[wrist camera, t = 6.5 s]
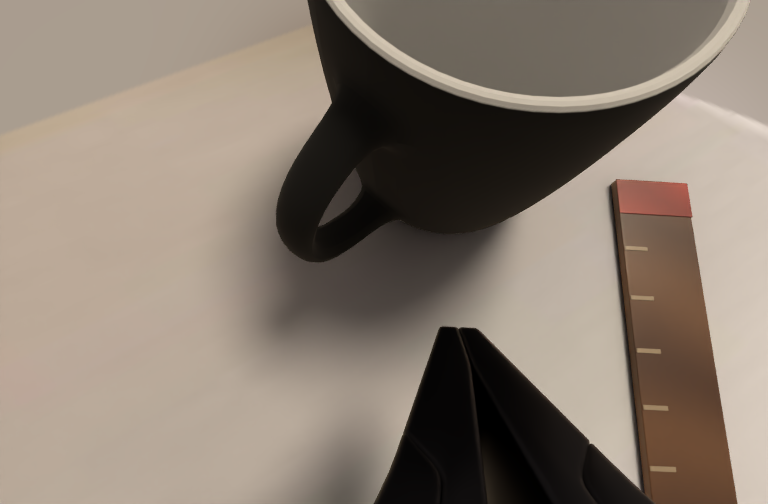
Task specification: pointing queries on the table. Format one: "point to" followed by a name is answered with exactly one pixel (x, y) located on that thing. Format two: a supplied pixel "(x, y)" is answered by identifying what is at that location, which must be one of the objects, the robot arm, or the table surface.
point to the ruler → (670, 347)
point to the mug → (481, 104)
